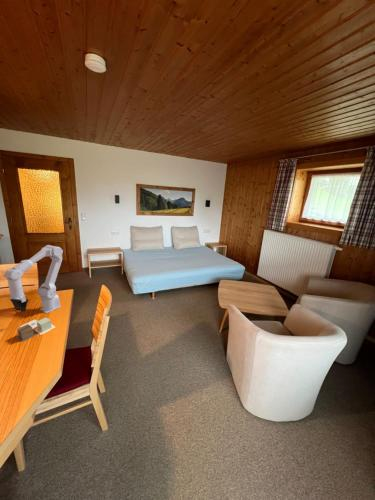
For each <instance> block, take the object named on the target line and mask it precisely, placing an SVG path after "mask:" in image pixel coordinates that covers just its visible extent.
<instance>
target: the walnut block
mask: <svg viewBox="0 0 375 500" xmlns="http://www.w3.org/2000/svg"><path fill="white" fill-rule="evenodd" d="M16 331H17V336H19V337H20V338H21V339H22V340H25V339H26V338H28V337H30V336H32V335H34V334H33V332H34V328H33V329H32V327H31V326H30V325H28V324H27V325H25V326H23V327H20V326H19V327H18V328H17V329H16Z"/></svg>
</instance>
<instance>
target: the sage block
mask: <svg viewBox="0 0 375 500" xmlns="http://www.w3.org/2000/svg"><path fill="white" fill-rule="evenodd" d="M51 324H52V321H51V319H49V318H48V317H43V318H42V319H40V320H37V327H36V328H38V329H39V330H40V331H41V332H44V331H46V330H48V329H50V328H52V326H51Z"/></svg>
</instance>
